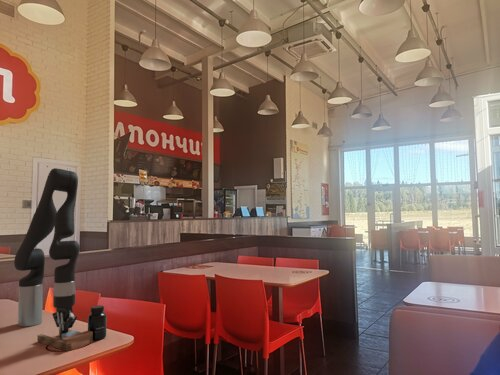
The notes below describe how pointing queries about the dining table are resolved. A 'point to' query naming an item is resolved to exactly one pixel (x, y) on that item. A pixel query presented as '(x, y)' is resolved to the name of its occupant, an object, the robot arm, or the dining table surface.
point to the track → (67, 340)
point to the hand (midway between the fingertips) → (64, 339)
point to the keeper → (69, 334)
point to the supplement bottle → (97, 322)
